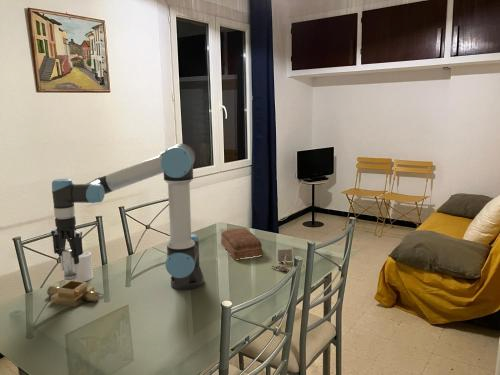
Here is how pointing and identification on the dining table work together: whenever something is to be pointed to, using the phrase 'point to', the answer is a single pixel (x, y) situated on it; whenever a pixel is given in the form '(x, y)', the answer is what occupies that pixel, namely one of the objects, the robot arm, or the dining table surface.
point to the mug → (84, 267)
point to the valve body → (72, 293)
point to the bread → (241, 243)
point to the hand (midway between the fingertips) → (70, 269)
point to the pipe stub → (68, 265)
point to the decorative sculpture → (284, 258)
